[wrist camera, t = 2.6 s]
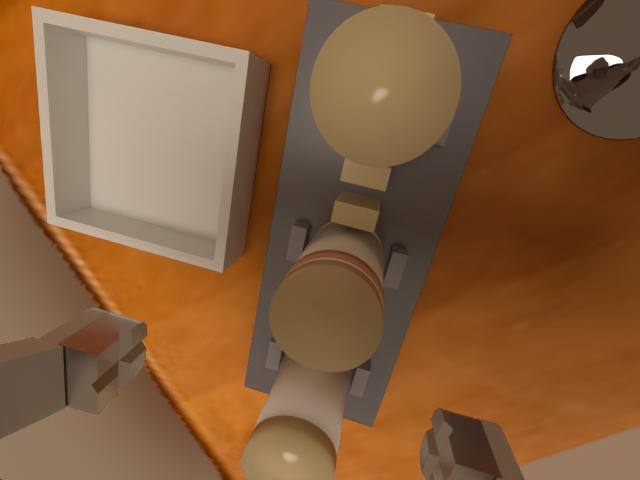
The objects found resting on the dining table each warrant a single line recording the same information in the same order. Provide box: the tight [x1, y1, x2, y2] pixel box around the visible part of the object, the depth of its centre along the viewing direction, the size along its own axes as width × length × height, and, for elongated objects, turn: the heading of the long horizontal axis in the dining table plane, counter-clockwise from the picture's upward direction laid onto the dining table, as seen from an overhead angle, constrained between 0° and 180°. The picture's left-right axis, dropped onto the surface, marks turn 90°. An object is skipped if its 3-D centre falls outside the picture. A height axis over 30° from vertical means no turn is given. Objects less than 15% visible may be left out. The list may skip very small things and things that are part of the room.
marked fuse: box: [269, 220, 384, 372], centre depth 15 cm, size 4×4×8 cm
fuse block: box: [244, 0, 512, 427], centre depth 18 cm, size 9×23×4 cm, turn 168°
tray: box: [31, 6, 271, 273], centre depth 19 cm, size 11×11×3 cm
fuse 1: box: [242, 355, 350, 480], centre depth 18 cm, size 4×4×8 cm
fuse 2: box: [310, 5, 461, 167], centre depth 12 cm, size 4×4×8 cm
